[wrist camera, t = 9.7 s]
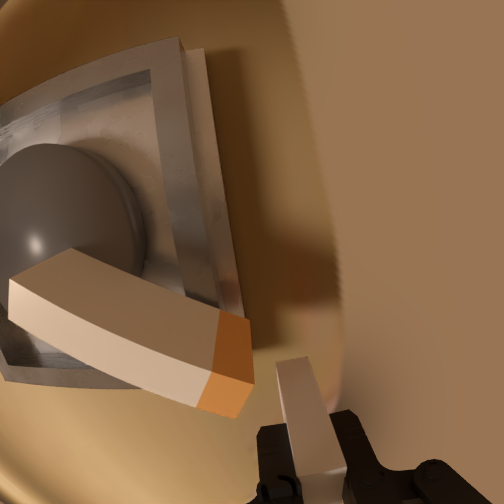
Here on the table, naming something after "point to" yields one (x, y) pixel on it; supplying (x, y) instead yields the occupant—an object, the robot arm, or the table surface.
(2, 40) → the table surface
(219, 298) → the grey rectangular tray
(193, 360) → the grey dome with handle
